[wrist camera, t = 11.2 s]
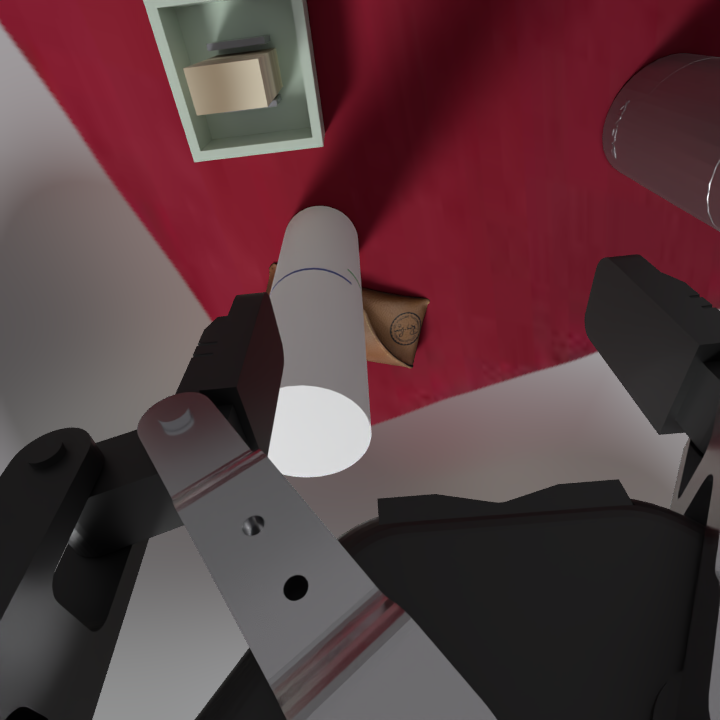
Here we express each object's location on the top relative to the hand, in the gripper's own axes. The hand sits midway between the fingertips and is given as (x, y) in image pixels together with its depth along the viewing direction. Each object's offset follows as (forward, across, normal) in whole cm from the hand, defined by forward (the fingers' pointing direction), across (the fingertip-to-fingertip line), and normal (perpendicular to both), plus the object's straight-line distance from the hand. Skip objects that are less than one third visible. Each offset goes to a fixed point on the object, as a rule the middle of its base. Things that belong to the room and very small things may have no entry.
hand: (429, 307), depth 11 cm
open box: (+32, +9, -3) cm, 33 cm away
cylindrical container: (+32, +6, +11) cm, 35 cm away
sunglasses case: (+32, +5, +20) cm, 38 cm away
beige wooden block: (+31, +9, -3) cm, 33 cm away
